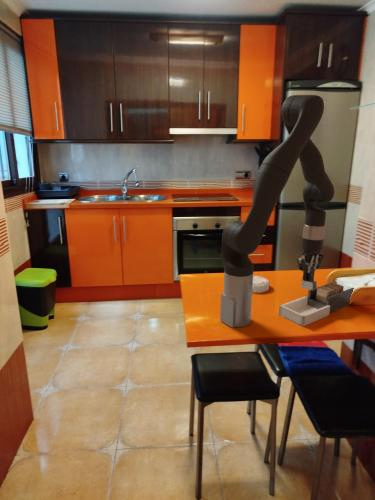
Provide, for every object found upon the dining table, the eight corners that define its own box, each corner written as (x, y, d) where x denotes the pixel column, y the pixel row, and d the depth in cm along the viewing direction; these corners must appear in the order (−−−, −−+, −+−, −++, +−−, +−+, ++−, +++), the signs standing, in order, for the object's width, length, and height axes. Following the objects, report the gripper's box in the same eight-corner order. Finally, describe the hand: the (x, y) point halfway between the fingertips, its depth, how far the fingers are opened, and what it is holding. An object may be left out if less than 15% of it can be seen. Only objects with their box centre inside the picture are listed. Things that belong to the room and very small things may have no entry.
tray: (302, 326, 111) (303, 316, 110) (278, 314, 119) (279, 305, 118) (329, 315, 119) (330, 306, 118) (304, 304, 127) (305, 296, 126)
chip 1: (325, 302, 122) (327, 292, 120) (316, 298, 125) (317, 288, 124) (332, 300, 124) (333, 289, 123) (322, 296, 127) (324, 286, 126)
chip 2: (335, 298, 125) (337, 288, 124) (326, 295, 128) (327, 285, 127) (342, 296, 127) (343, 286, 126) (332, 292, 130) (333, 282, 129)
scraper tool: (312, 290, 131) (312, 267, 129) (301, 287, 135) (301, 265, 133) (316, 288, 132) (316, 265, 131) (305, 286, 136) (305, 264, 135)
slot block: (326, 314, 120) (328, 298, 118) (306, 305, 126) (308, 290, 124) (352, 303, 128) (355, 288, 127) (332, 295, 135) (334, 281, 133)
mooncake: (274, 287, 144) (274, 279, 143) (258, 295, 135) (258, 287, 134) (250, 280, 152) (250, 272, 151) (233, 287, 143) (233, 279, 142)
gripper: (309, 241, 122) (304, 287, 127) (333, 236, 129) (327, 279, 134) (292, 237, 128) (288, 280, 133) (315, 232, 135) (311, 274, 140)
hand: (308, 280), depth 133 cm, fingers closed on scraper tool, 2 cm apart
